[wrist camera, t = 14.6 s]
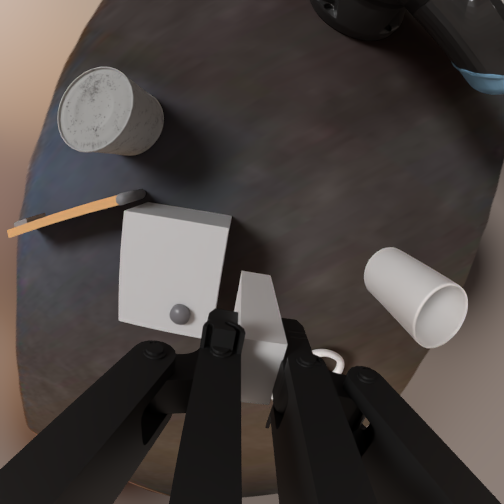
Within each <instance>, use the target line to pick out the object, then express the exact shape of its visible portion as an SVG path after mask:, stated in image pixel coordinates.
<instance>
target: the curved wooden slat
mask: <svg viewBox="0 0 504 504" xmlns="http://www.w3.org/2000/svg"><path fill="white" fill-rule="evenodd" d="M145 196H146V192H145V191H144V190H143V189H139V190H134V191H129V192H125V193H120V194H118V195H116V196H112V197H109V198H105V199H101V200H98V201H94V202H91V203H88V204H84V205H81V206H78V207H74V208H71V209H68V210H65V211H61V212H58V213H55V214H52V215H49V216H45V213H43V214H39V215H36V216H32V217H29V218H26V219H23V220H20V221H18V222H15V223H14V226H15V228H12V229H9V230H7V232H8V237H9V238H11V237H14V236H16V235H19V234H22V233H25V232H28V231H31V230H34V229H38V228H41V227H44V226H47V225H50V224H53V223H57V222H60V221H63V220H67V219H70V218H73V217H77V216H80V215H84V214H87V213H91V212H95V211H98V210H102V209H106V208H110V207H113V206H117V205H124V204H127V203H131V202H134V201H137V200H140V199H143V198H145Z"/></svg>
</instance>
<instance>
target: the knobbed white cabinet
mask: <svg viewBox="0 0 504 504" xmlns="http://www.w3.org/2000/svg"><path fill="white" fill-rule="evenodd" d="M231 219H232V216H229V215H224V214H218V213H212V212H206V211H200V210H194V209H188V208H182V207H176V206H170V205H164V204H157V203H151V202H147V203H144V204H141V205H138V206H135V207H133V208H130V209H127V210H125V211H124V217H123V227H122V239H121V254H120V274H119V321H122V322H126V323H130V324H134V325H139V326H143V327H148V328H152V329H157V330H161V331H166V332H171V333H176V334H181V335H186V336H191V337H197V338H201V336H202V329H203V325H204V324H205V322H207V320H208V316H209V313H210V312H211V311H212V310H214V309H215V308H216V307H217V301H218V295H219V289H220V283H221V277H222V271H223V265H224V259H225V253H226V247H227V242H228V236H229V230H230V225H231Z"/></svg>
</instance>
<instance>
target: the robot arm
mask: <svg viewBox="0 0 504 504" xmlns="http://www.w3.org/2000/svg"><path fill="white" fill-rule="evenodd" d="M310 1H311V4H312V6H313V8H314V10H315V11H316V12H317V14H318V15H319V16H320V17H321V18H322V19H323V20H324V21H325V22H326V23H327V24H328V25H330V26H331V27H333V28H334V29H336V30H337V31H339V32H341V33H343V34H345V35H347V36H350V37H353V38H356V39H361V40H368V41H374V40H381V39H384V38H386V37H388V36H390V35H391V34H392V33H393V32H395V31H396V30H397V29H398V28H399V26H400V25H401V23H402V21H403V17H404V14H405V11H406V9H407V10H408V11H409V12H410V13H411V14H412V15H413V16H414V18H415V19H416V20H417V21H418V22H419V23H420V24H421V25H422V26H423V27H424V28H425V30H426V31H427V32H428V33H429V34H430V35H431V36H432V38H433V39H434V40H435V41H436V42H437V44H438V45H439V46H440V47H441V49H442V50H443V51H444V52H445V54H446V55H447V56H448V57H449V59H450V60H451V63H452V65H453V66H454V67H455V68H456V69H457V70H459V71H460V73H461V74H462V75H463V77H464V78H465V79H466V81H467V82H468V83H469V85H470V86H471V87H472V88H474V89H476V90H478V91H480V92H482V93H485V94H492V95H499V94H504V0H310ZM272 395H273V406H272V409H271V412H270V415H269V417H268V420H267V423H266V428H269V426H270V423H271V427H272V437H273V447H274V456H275V466H276V476H277V485H278V495H279V504H501V503H500V502H499V501H498V500H497V499H496V497H495V496H494V495H493V494H492V493H491V492H490V491H489V490H488V489H487V488H486V487H485V486H484V484H482V482H481V481H480V480H479V479H478V478H477V477H476V476H475V475H474V474H473V473H472V472H471V471H470V469H469V468H468V467H467V466H466V465H465V464H464V463H463V462H462V461H461V460H460V459H459V458H458V457H457V456H456V454H455V453H454V452H453V451H452V450H451V449H450V448H449V447H448V446H447V445H446V444H445V443H444V442H443V441H442V439H441V438H440V437H439V436H438V435H437V434H436V433H435V432H434V431H433V430H432V429H431V428H430V427H429V426H428V425H427V424H426V422H425V421H424V420H423V419H422V418H421V417H420V416H419V415H418V414H417V413H416V412H415V411H414V410H413V409H412V408H411V407H410V406H409V404H407V402H405V400H404V399H403V398H402V397H401V396H400V395H399V394H398V393H397V392H396V391H395V390H394V389H393V388H392V387H391V386H390V384H389V383H388V382H387V381H386V380H385V379H384V378H383V377H382V376H381V375H380V374H379V373H377V372H376V371H374V370H372V369H371V368H368V367H363V366H356V367H352V368H351V369H350V370H349V371H348V373H347V375H342V374H338V373H335V372H332V371H329V370H328V369H327V366H326V364H325V362H324V361H323V359H321V358H320V357H319V356H317V355H315V354H313V352H312V350H311V347H310V344H309V341H308V339H307V336H306V334H305V330H304V328H303V326H302V325H301V324H300V323H299V322H298V321H297V320H293V319H286V318H281V316H280V312H279V308H278V304H277V300H276V296H275V292H274V288H273V284H272V280H271V276H270V275H265V274H259V273H253V272H247V271H242V272H241V277H240V282H239V288H238V293H237V298H236V304H235V309H234V311H228V310H222V309H216V308H215V309H214V310H212V311H211V312H210V313H209V316H208V320H207V322H205V324H204V325H203V329H202V336H201V344H200V348H199V349H198V350H197V351H195V352H193V353H189V354H176V353H175V350H174V349H173V348H172V347H171V346H170V345H168V344H166V343H164V342H160V341H144V342H141V343H139V344H137V345H136V346H135V347H134V348H132V349H131V350H130V351H129V352H128V353H127V354H126V355H125V356H124V357H122V358H121V359H120V360H119V361H118V362H117V363H116V364H115V365H114V366H113V367H111V368H110V369H109V370H108V371H107V372H106V373H105V374H104V375H103V376H101V377H100V378H99V379H98V380H97V381H96V382H95V383H94V384H93V385H92V386H90V387H89V388H88V389H87V390H86V391H85V392H84V393H83V394H82V395H81V396H79V397H78V398H77V399H76V400H75V401H74V402H73V403H72V404H71V405H70V406H69V407H67V408H66V409H65V410H64V411H63V412H62V413H61V414H60V415H59V416H58V417H57V418H55V419H54V420H53V421H52V422H51V423H50V424H49V425H48V426H47V427H46V428H45V429H43V430H42V431H41V432H40V433H39V434H38V435H37V436H36V437H35V438H34V439H33V440H32V441H30V442H29V443H28V444H27V445H26V446H25V447H24V448H23V449H22V450H21V451H20V452H19V453H18V454H16V455H15V456H14V457H13V458H12V459H11V460H10V461H9V462H8V463H7V464H6V465H5V466H4V467H3V468H1V469H0V504H113V503H114V501H115V500H116V498H117V497H118V495H119V494H120V493H121V491H122V490H123V488H124V487H125V485H126V484H127V482H128V481H129V480H130V478H131V477H132V475H133V474H134V472H135V471H136V469H137V468H138V466H139V465H140V463H141V462H142V460H143V459H144V457H145V456H146V454H147V453H148V451H149V450H150V448H151V447H152V446H153V444H154V443H155V441H156V440H157V438H158V437H159V435H160V433H161V432H162V430H163V429H164V427H165V426H166V424H167V423H168V421H169V420H170V418H171V416H172V413H186V416H185V421H184V426H183V431H182V436H181V441H180V447H179V452H178V457H177V462H176V468H175V473H174V479H173V484H172V490H171V496H170V501H169V504H242V480H241V402H247V403H256V404H266V405H269V403H270V400H271V397H272ZM365 417H366V418H367V419H368V421H369V422H370V424H369V426H368V427H367V428H366V427H365V426H364V425H363V424H362V422H363V421H364V419H365Z"/></svg>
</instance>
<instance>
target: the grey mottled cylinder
mask: <svg viewBox="0 0 504 504" xmlns="http://www.w3.org/2000/svg"><path fill="white" fill-rule="evenodd" d="M57 122H58V128H59V132H60V134H61V137H62V138H63V140H64V141H65V143H66V144H67V145H69V146H70V147H71V148H72V149H75V150H77V151H79V152H100V153H111V154H120V155H125V156H132V155H137V154H140V153H143V152H144V151H146V150H148V149H149V148H150V147H151V146H152V145H153V144H154V143H155V142H156V141H157V139H158V138H159V136H160V134H161V132H162V128H163V124H164V114H163V110H162V107H161V105H160V103H159V102H158V101H157V99H156V98H155V97H153V96H152V95H150V94H148V93H147V92H146V91H145V90H143V89H142V88H141V87H139V86H138V85H137V84H135V83H134V82H133V81H131V80H130V79H129V78H127V77H126V76H125V75H124V73H122V72H120V71H119V70H117V69H115V68H111V67H98V68H94V69H90V70H88V71H86V72H84V73H83V74H81V75H80V76H79V77H77V78H76V79H75V80H74V81H73V82H72V83H71V84H70V85H69V87H68V88H67V90H66V91H65V93H64V95H63V97H62V99H61V102H60V105H59V109H58V119H57Z"/></svg>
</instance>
